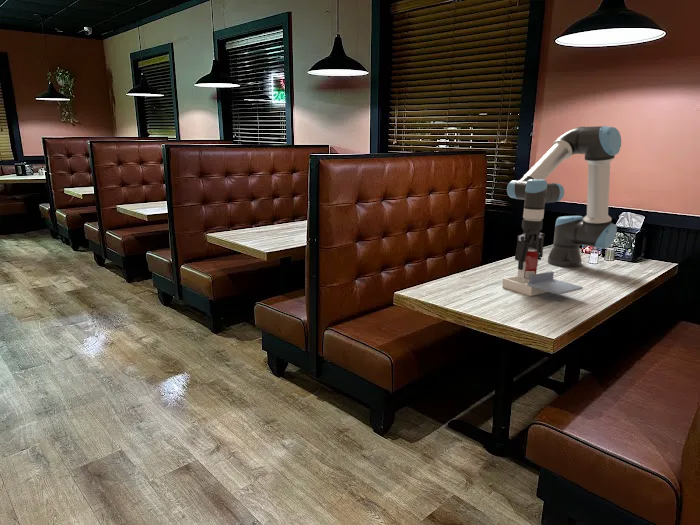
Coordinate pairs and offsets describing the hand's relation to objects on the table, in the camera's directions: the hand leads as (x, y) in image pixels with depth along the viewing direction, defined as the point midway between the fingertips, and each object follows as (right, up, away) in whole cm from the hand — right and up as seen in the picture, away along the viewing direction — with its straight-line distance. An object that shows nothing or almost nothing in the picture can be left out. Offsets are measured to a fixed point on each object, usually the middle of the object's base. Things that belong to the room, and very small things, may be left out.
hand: (526, 275), depth 201 cm
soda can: (0, -1, 0) cm, 1 cm away
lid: (+7, -4, -10) cm, 13 cm away
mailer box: (+1, -5, 0) cm, 5 cm away
